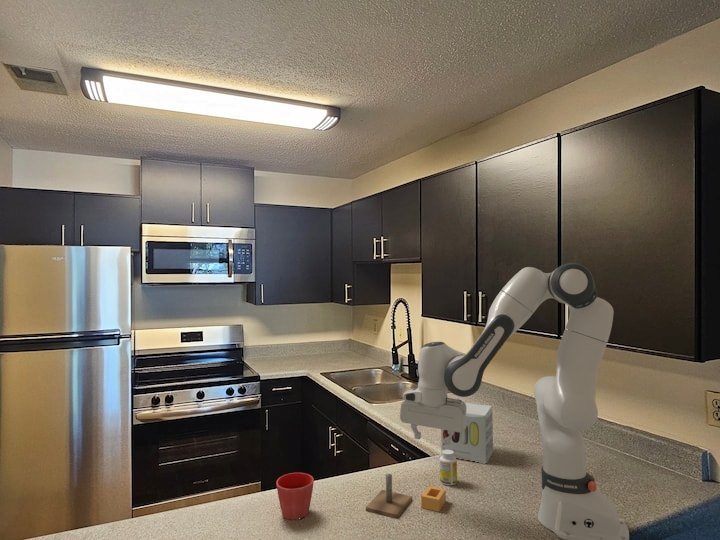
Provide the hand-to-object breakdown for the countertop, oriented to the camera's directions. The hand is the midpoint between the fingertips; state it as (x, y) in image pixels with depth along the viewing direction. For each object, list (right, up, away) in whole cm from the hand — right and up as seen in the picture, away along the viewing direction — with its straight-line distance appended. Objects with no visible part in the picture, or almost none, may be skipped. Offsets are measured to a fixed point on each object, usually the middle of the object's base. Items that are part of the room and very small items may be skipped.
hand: (432, 441), depth 139 cm
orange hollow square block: (0, -19, 0) cm, 19 cm away
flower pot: (-41, -20, -4) cm, 45 cm away
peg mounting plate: (-13, -19, 0) cm, 23 cm away
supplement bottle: (+8, -19, +14) cm, 25 cm away
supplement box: (+19, -19, +37) cm, 46 cm away
